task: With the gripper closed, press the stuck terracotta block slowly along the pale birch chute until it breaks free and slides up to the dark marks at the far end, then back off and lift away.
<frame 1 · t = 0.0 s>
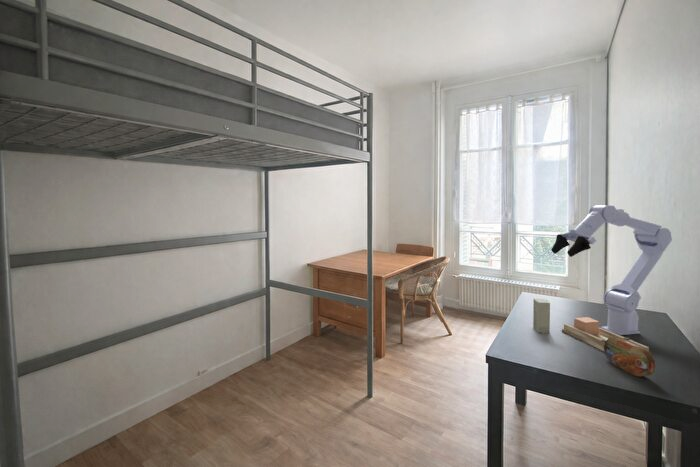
hand: (560, 253, 126), 32 cm above the table, tool tilted 50°, fingers open, 7 cm apart
jammed block: (586, 326, 129), point 4 cm above the table, slide at 0.0 cm
chute: (602, 342, 123), on the table
skincare box: (540, 330, 135), on the table
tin: (627, 369, 103), on the table
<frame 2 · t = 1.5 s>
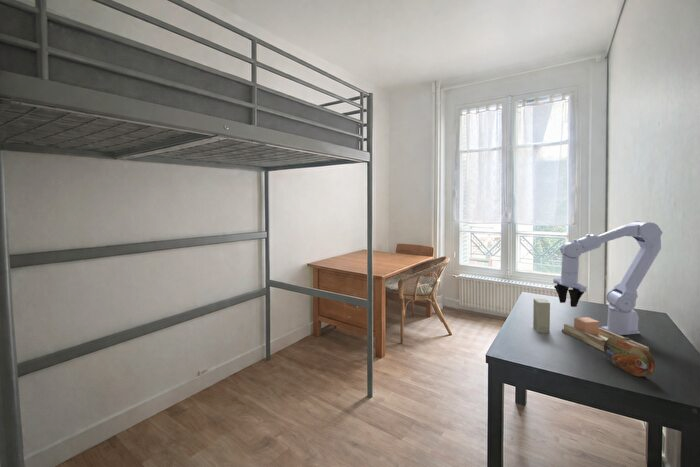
hand: (568, 304, 137), 9 cm above the table, tool pointing down, fingers open, 5 cm apart
nothing on the table moved.
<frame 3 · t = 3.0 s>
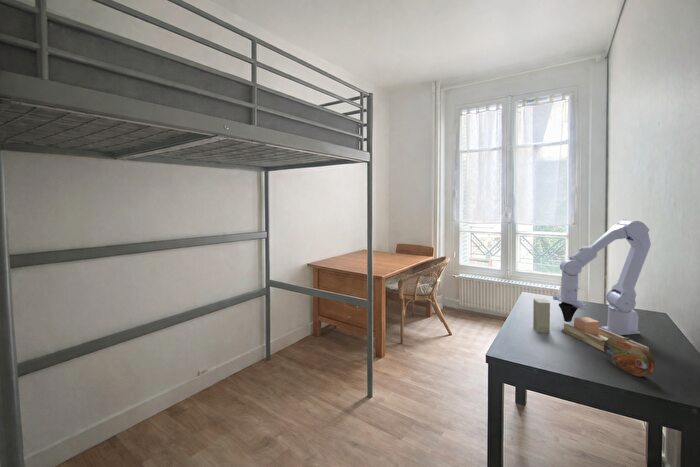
hand: (567, 321, 138), 2 cm above the table, tool pointing down, fingers closed
nothing on the table moved.
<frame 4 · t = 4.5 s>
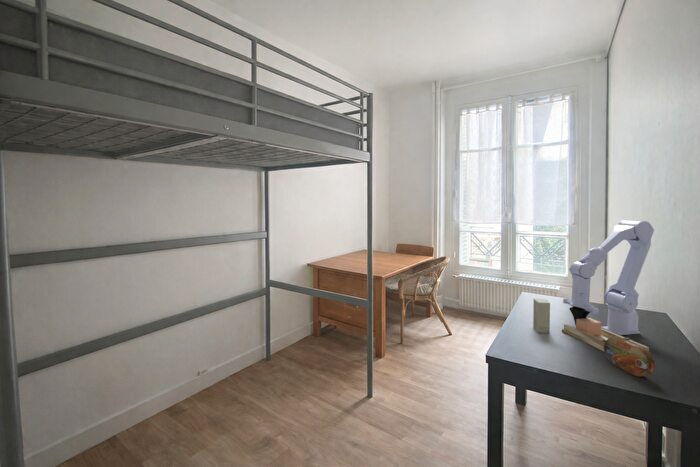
hand: (579, 326, 132), 2 cm above the table, tool pointing down, fingers closed
jammed block: (588, 326, 128), point 4 cm above the table, slide at 0.9 cm, touching gripper
everything else where it was.
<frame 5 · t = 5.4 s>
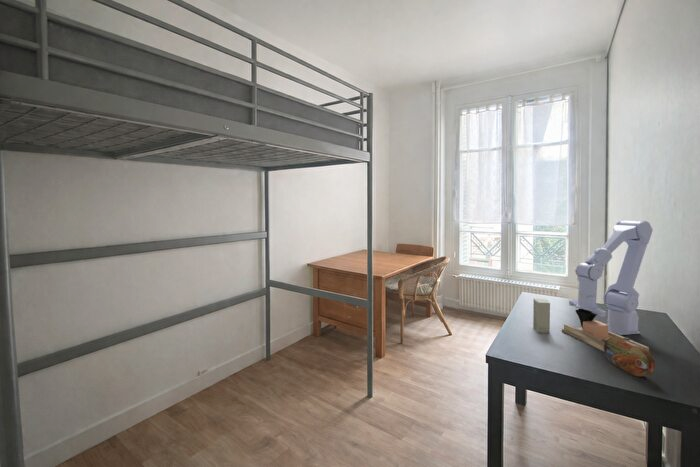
hand: (585, 328, 129), 2 cm above the table, tool pointing down, fingers closed
jammed block: (595, 329, 125), point 4 cm above the table, slide at 3.9 cm, touching gripper
everything else where it was.
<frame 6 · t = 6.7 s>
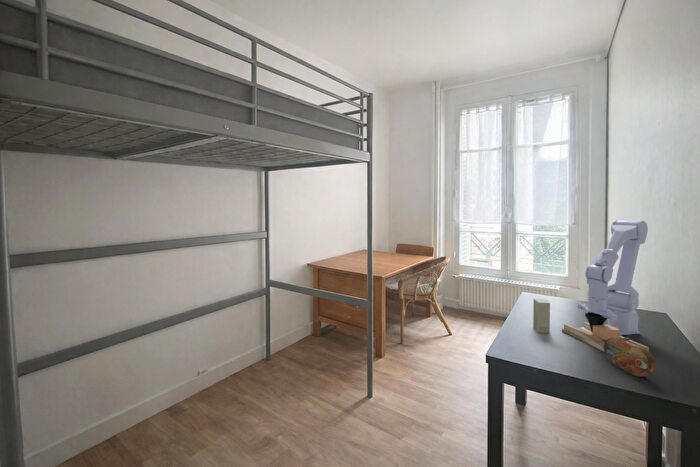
hand: (595, 333, 125), 2 cm above the table, tool pointing down, fingers closed
jammed block: (605, 334, 121), point 4 cm above the table, slide at 8.2 cm, touching gripper
everything else where it was.
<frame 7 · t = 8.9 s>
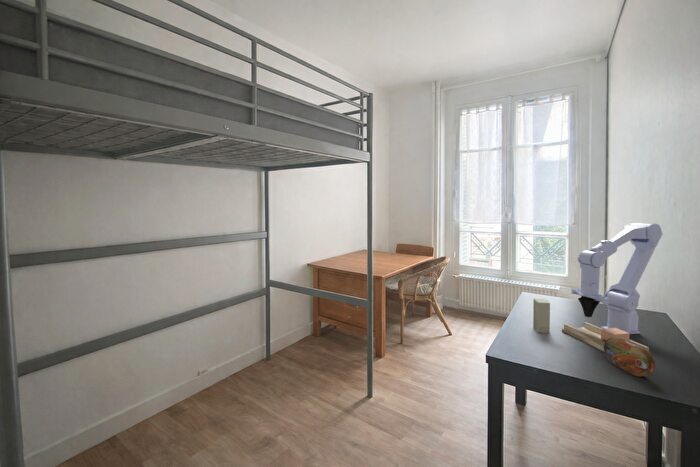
hand: (588, 316, 130), 7 cm above the table, tool pointing down, fingers closed
jammed block: (614, 338, 118), point 4 cm above the table, slide at 11.7 cm
everything else where it was.
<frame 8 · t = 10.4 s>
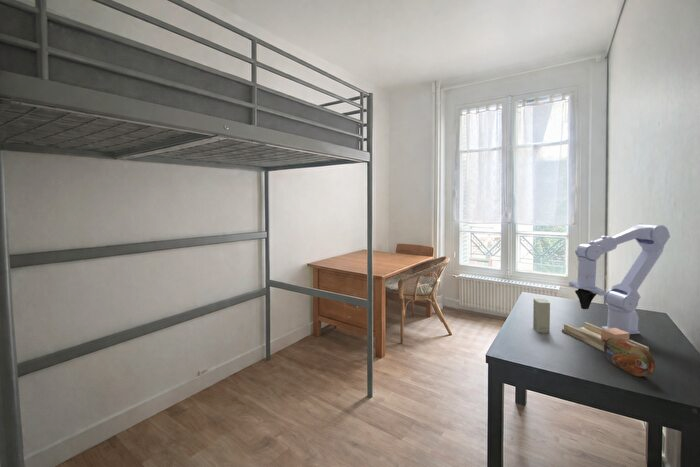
hand: (584, 308, 132), 9 cm above the table, tool pointing down, fingers closed
nothing on the table moved.
at the end: jammed block slide at 11.7 cm; skincare box moved 0.2 cm from its start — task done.
